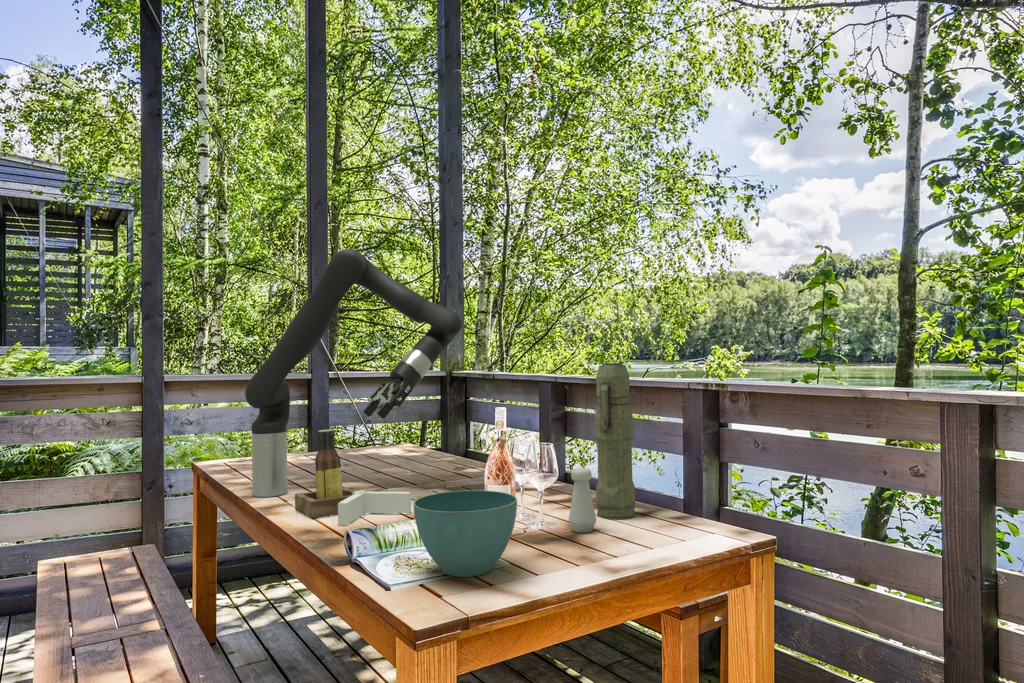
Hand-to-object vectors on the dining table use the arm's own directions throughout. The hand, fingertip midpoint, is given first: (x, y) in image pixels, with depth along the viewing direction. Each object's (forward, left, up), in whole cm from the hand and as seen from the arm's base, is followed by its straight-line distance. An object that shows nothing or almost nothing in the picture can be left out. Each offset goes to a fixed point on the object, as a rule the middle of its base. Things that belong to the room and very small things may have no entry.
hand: (372, 415), depth 175 cm
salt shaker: (+55, +22, -23) cm, 64 cm away
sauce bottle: (0, -12, -23) cm, 26 cm away
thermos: (+50, +37, -23) cm, 66 cm away
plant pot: (+61, -11, -23) cm, 66 cm away
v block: (+12, -7, -23) cm, 26 cm away
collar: (0, -12, -23) cm, 26 cm away
